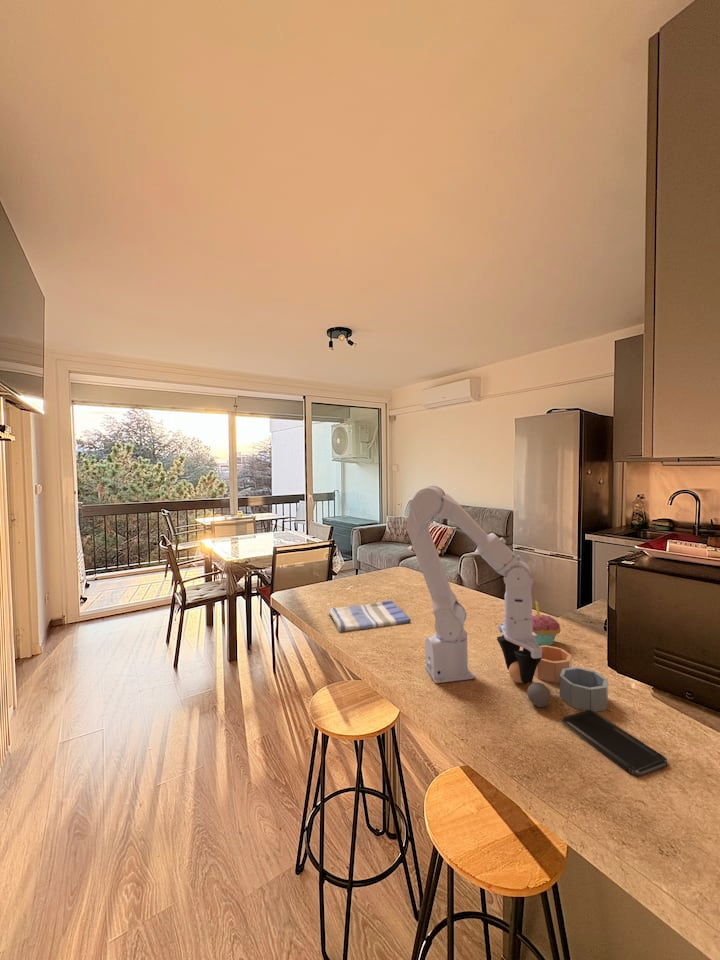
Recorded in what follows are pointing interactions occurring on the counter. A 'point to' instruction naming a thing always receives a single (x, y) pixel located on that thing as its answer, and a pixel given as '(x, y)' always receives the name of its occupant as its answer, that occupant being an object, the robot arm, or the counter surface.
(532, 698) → the charcoal ball
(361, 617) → the dish towel
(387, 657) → the counter surface
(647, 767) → the phone
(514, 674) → the terracotta ball
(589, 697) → the slate cup
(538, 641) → the cupcake
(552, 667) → the terracotta octagonal bowl
